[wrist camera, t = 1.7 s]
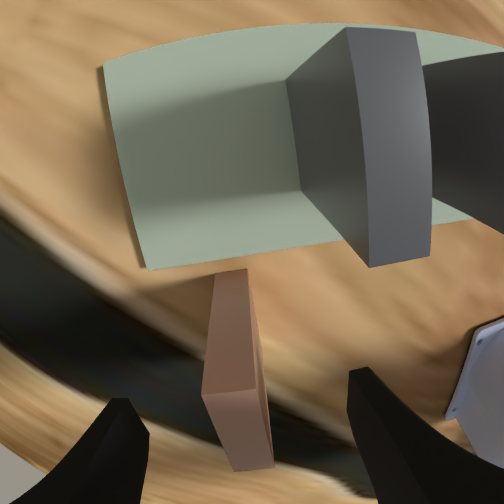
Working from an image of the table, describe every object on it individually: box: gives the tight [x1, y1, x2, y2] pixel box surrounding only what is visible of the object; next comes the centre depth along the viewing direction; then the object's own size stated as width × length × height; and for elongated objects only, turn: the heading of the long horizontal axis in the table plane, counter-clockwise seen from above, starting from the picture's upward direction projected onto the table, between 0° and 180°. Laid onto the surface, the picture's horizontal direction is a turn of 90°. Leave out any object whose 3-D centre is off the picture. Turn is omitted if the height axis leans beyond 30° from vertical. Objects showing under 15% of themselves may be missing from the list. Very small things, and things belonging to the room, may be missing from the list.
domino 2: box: [422, 52, 504, 234], centre depth 8 cm, size 4×1×7 cm, turn 9°
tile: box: [201, 269, 275, 472], centre depth 12 cm, size 4×1×7 cm, turn 9°
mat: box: [103, 23, 504, 271], centre depth 11 cm, size 9×27×1 cm, turn 99°
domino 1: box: [285, 27, 432, 268], centre depth 8 cm, size 4×1×7 cm, turn 9°
